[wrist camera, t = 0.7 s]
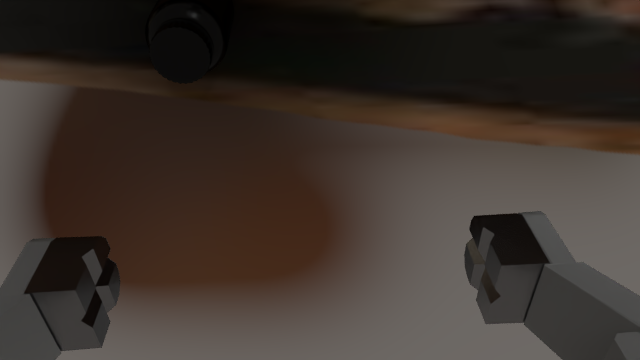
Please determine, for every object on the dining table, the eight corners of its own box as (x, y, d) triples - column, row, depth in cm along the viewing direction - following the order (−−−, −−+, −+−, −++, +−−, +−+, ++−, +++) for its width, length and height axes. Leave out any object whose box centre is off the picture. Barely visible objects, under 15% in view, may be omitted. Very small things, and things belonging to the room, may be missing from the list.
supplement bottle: (151, 17, 50) (119, 67, 40) (182, -46, 47) (155, -8, 37) (214, 54, 52) (199, 109, 43) (248, -3, 49) (239, 43, 40)
